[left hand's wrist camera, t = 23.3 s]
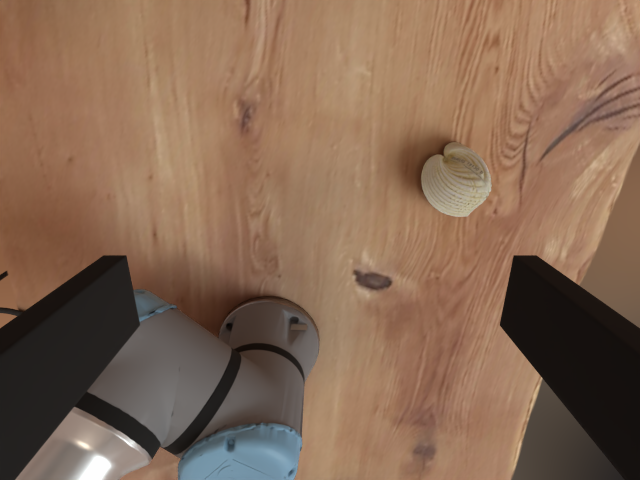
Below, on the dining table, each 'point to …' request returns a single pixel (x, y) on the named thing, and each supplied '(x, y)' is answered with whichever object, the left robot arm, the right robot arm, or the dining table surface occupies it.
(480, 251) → the dining table surface
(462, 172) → the seashell
